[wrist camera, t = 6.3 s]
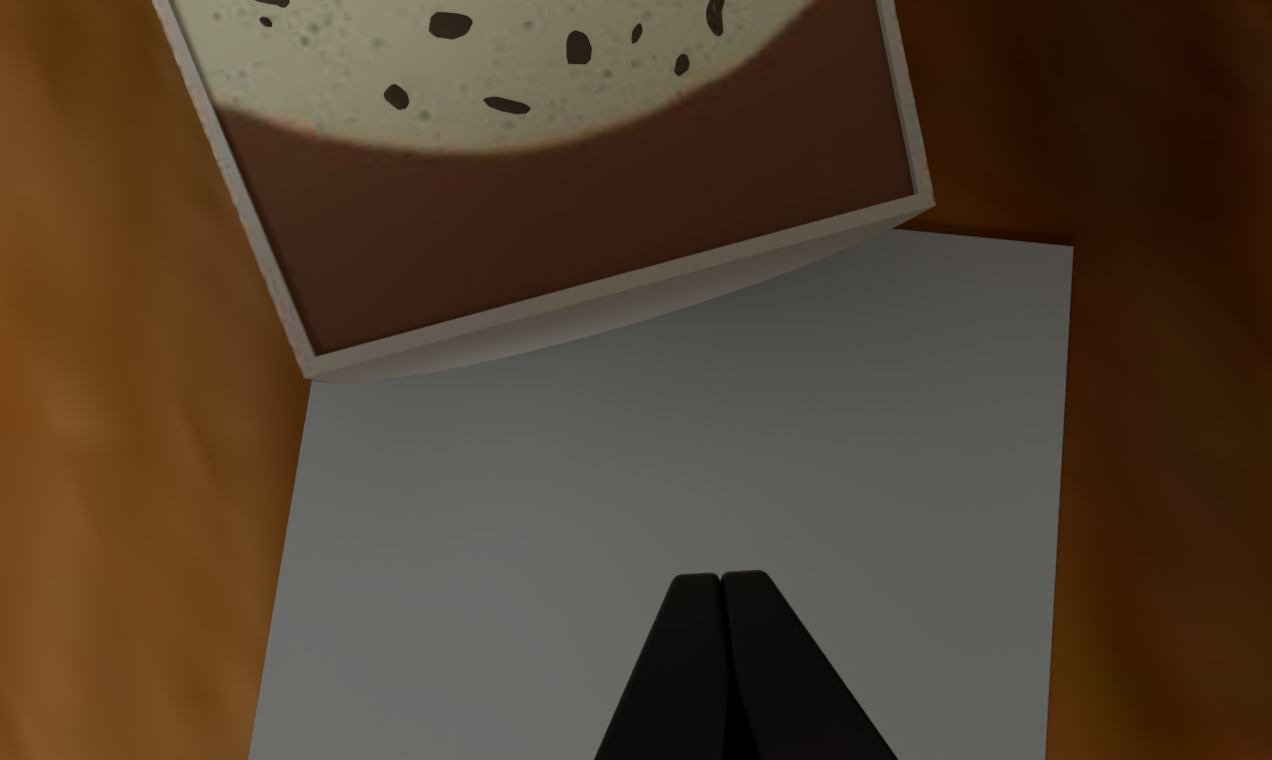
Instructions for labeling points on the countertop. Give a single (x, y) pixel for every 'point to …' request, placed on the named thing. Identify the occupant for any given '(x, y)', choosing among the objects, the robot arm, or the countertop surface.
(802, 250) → the food container
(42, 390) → the countertop surface
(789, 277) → the slate mat
